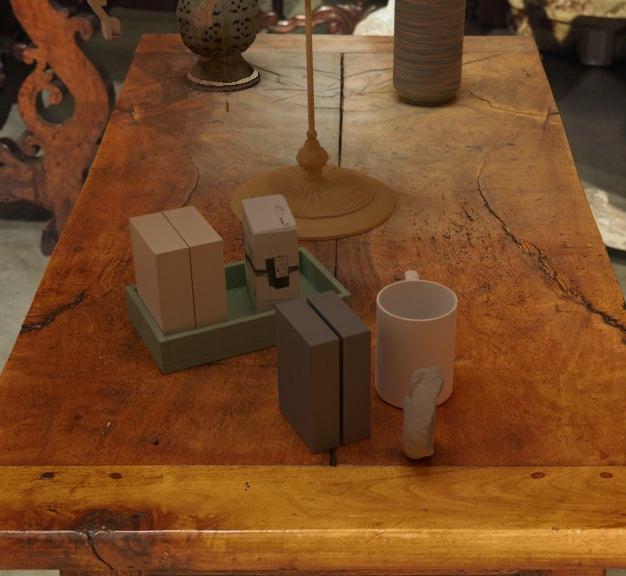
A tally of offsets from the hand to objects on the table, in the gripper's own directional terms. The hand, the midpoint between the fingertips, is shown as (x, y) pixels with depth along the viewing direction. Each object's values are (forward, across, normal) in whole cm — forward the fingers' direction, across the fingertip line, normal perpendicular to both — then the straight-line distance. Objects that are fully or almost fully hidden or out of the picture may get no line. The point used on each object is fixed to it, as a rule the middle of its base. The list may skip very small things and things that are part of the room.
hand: (158, 31), depth 108 cm
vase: (+31, +59, +46) cm, 81 cm away
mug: (+31, +16, -26) cm, 44 cm away
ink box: (+30, +8, -8) cm, 32 cm away
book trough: (+31, +4, -8) cm, 32 cm away
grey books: (+31, +4, -29) cm, 43 cm away
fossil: (+31, +10, -38) cm, 50 cm away
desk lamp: (+31, +24, +16) cm, 43 cm away
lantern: (+31, +31, +70) cm, 83 cm away
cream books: (+30, -3, -8) cm, 31 cm away
